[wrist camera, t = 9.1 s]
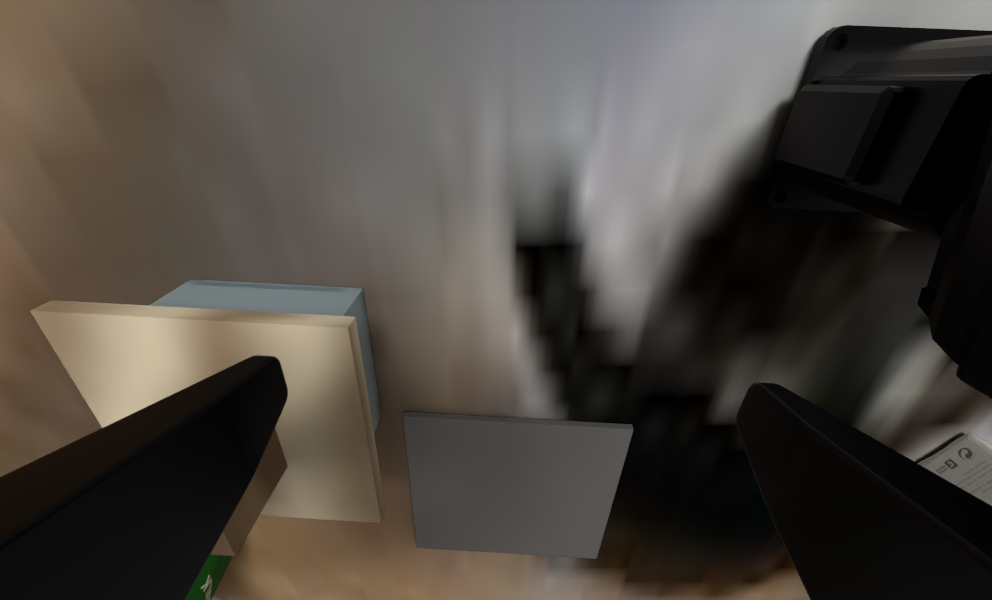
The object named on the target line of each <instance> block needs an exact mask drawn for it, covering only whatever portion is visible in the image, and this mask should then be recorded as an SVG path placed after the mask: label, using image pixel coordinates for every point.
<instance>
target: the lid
mask: <svg viewBox="0 0 992 600" xmlns="http://www.w3.org/2000/svg"><path fill="white" fill-rule="evenodd" d="M30 312H31V313H32V315H33V316H34V318H35V320H36V321H37V323H38V325H39V326H40V328H41V329H42V331H43V333H44V334H45V336H46V337H47V339H48V341H49V342H50V344H51V346H52V347H53V349H54V350H55V352H56V354H57V355H58V357H59V358H60V360H61V362H62V363H63V365H64V367H65V368H66V370H67V371H68V373H69V375H70V376H71V378H72V379H73V381H74V383H75V384H76V386H77V388H78V389H79V391H80V392H81V394H82V396H83V397H84V399H85V400H86V402H87V404H88V405H89V407H90V409H91V410H92V412H93V413H94V415H95V417H96V418H97V420H98V421H99V423H100V425H101V426H102V428H104V427H106V426H108V425H110V424H112V423H114V422H116V421H118V420H120V419H122V418H124V417H126V416H129V415H131V414H133V413H135V412H137V411H139V410H141V409H143V408H145V407H147V406H149V405H151V404H153V403H156V402H158V401H160V400H162V399H164V398H166V397H168V396H170V395H172V394H174V393H176V392H178V391H180V390H183V389H185V388H187V387H189V386H191V385H193V384H195V383H197V382H199V381H201V380H203V379H205V378H208V377H210V376H212V375H214V374H216V373H218V372H220V371H222V370H224V369H226V368H228V367H230V366H232V365H235V364H237V363H239V362H241V361H243V360H245V359H247V358H249V357H251V356H255V355H262V356H274V357H276V358H278V360H279V361H280V363H281V367H282V370H283V374H284V377H285V381H286V384H287V388H288V397H287V401H286V404H285V406H284V408H283V411H282V413H281V415H280V417H279V420H278V422H277V424H276V427H275V429H274V431H273V434H272V436H271V438H270V441H269V443H268V445H267V448H266V450H265V452H264V455H263V457H262V459H261V462H260V464H259V466H258V468H257V470H256V472H255V474H254V476H253V478H252V480H251V482H250V484H249V486H248V488H247V489H246V491H245V493H244V495H243V497H242V498H241V500H240V502H239V504H238V506H237V507H236V509H235V511H234V513H233V515H232V516H231V518H230V520H229V522H228V524H227V525H226V527H225V529H224V531H223V533H222V534H221V536H220V538H219V540H218V541H217V543H216V545H215V547H214V549H213V550H212V552H211V555H227V556H236V554H237V552H238V551H239V549H240V547H241V546H242V544H243V542H244V540H245V539H246V537H247V535H248V534H249V532H250V530H251V529H252V527H253V525H254V523H255V522H256V520H257V518H258V517H259V516H274V517H290V518H306V519H322V520H339V521H355V522H371V523H382V519H383V516H384V513H385V509H386V507H385V501H384V494H383V488H382V482H381V475H380V469H379V463H378V456H377V450H376V444H375V437H374V431H373V425H372V418H371V412H370V405H369V399H368V393H367V386H366V380H365V374H364V367H363V361H362V355H361V348H360V342H359V336H358V329H357V323H356V317H352V316H333V315H314V314H296V313H277V312H258V311H240V310H221V309H202V308H184V307H165V306H146V305H127V304H109V303H90V302H71V301H53V300H52V301H50V302H47V303H45V304H43V305H41V306H39V307H37V308H35V309H33V310H31V311H30Z"/></svg>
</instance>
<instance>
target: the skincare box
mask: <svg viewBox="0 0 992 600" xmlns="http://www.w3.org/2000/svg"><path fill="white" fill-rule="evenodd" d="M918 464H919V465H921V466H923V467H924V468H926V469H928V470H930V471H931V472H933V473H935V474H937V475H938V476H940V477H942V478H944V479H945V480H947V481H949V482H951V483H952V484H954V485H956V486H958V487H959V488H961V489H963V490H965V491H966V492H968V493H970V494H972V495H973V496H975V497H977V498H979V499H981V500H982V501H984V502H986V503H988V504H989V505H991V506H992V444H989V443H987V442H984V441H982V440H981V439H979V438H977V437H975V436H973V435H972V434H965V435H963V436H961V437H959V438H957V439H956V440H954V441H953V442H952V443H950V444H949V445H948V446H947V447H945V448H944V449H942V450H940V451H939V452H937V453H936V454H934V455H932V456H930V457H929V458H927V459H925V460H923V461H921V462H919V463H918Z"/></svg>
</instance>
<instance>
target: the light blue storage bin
mask: <svg viewBox="0 0 992 600" xmlns="http://www.w3.org/2000/svg"><path fill="white" fill-rule="evenodd" d="M149 306H165V307H184V308H202V309H221V310H240V311H258V312H277V313H296V314H314V315H333V316H352V317H356V323H357V329H358V336H359V342H360V348H361V355H362V361H363V367H364V374H365V380H366V386H367V393H368V399H369V405H370V412H371V418H372V425H373V431H374V433H375V430H376V428H377V425H378V423H379V420H380V418H381V411H380V404H379V397H378V390H377V383H376V376H375V369H374V362H373V355H372V348H371V341H370V334H369V327H368V320H367V313H366V305H365V298H364V291H363V288H348V287H328V286H309V285H289V284H270V283H251V282H231V281H212V280H192V279H191V280H189V281H188V282H186V283H184V284H183V285H181V286H180V287H178V288H176V289H175V290H173V291H171V292H170V293H168V294H167V295H165V296H163V297H162V298H160V299H158V300H157V301H155V302H154V303H152V304H150V305H149Z"/></svg>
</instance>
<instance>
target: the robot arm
mask: <svg viewBox="0 0 992 600" xmlns="http://www.w3.org/2000/svg"><path fill="white" fill-rule="evenodd" d="M837 36H839V38H840V44H839V45H838V47H837V48H836V49H835V50H834V49H833V47H832V44H833V41H834V39H835V38H836V37H837ZM775 159H776V161H775V164H774V167H773V170H772V172H771V175H770V178H769V181H768V183H767V186H766V189H765V192H764V195H763V200H764V202H765V203H766V204H767V205H768V206H770V207H773V208H778V209H799V210H821V211H842V212H863V213H868V214H870V215H873V216H876V217H878V218H881V219H884V220H886V221H889V222H892V223H894V224H897V225H900V226H902V227H905V228H908V229H910V230H913V231H916V232H918V233H921V234H924V235H926V236H929V237H931V238H934V239H937V240H939V241H940V244H939V248H938V251H937V254H936V258H935V261H934V264H933V268H932V271H931V274H930V278H929V281H928V284H927V287H924V288H922V289H921V292H920V296H919V299H918V302H917V304H918V306H919V307H920V308H921V309H922V310H923V312H924V313H925V314H926V315H927V316H928V318H929V323H930V329H931V334H932V339H933V340H934V341H935V342H936V343H937V344H938V345H939V346H940V347H941V348H942V350H943V351H944V352H945V353H946V354H947V355H948V356H949V357H950V358H951V359H952V360H953V361H954V362H955V363H956V364H958V365H959V367H958V369H957V372H956V373H957V377H958V378H959V379H960V380H962V381H963V382H964V383H966V384H967V385H969V386H970V387H972V388H974V389H975V390H977V391H979V392H980V393H982V394H984V395H985V396H987V397H989V398H990V399H992V31H978V30H953V29H927V28H901V27H875V26H850V25H846V26H840V27H834V28H832V29H830V30H828V31H827V32H826V33H825V34H824V35H823V36H822V37H821V39H820V41H819V43H818V45H817V48H816V51H815V54H814V56H813V59H812V62H811V65H810V67H809V70H808V73H807V76H806V79H805V81H804V84H803V87H802V89H801V90H800V91H799V92H798V93H797V96H796V99H795V101H794V104H793V107H792V110H791V113H790V115H789V118H788V121H787V124H786V126H785V129H784V132H783V135H782V138H781V140H780V143H779V146H778V149H777V152H776V154H775ZM779 191H782V194H781V196H780V198H778V199H777V200H774V197H775V195H776V194H777V193H778V192H779ZM287 397H288V388H287V384H286V381H285V377H284V374H283V370H282V367H281V363H280V361H279V360H278V358H276V357H274V356H262V355H255V356H251V357H249V358H247V359H245V360H243V361H241V362H239V363H237V364H235V365H232V366H230V367H228V368H226V369H224V370H222V371H220V372H218V373H216V374H214V375H212V376H210V377H208V378H205V379H203V380H201V381H199V382H197V383H195V384H193V385H191V386H189V387H187V388H185V389H183V390H180V391H178V392H176V393H174V394H172V395H170V396H168V397H166V398H164V399H162V400H160V401H158V402H156V403H153V404H151V405H149V406H147V407H145V408H143V409H141V410H139V411H137V412H135V413H133V414H131V415H129V416H126V417H124V418H122V419H120V420H118V421H116V422H114V423H112V424H110V425H108V426H106V427H104V428H101V429H99V430H97V431H95V432H93V433H91V434H89V435H87V436H85V437H83V438H81V439H79V440H77V441H74V442H72V443H70V444H68V445H66V446H64V447H62V448H60V449H58V450H56V451H54V452H52V453H50V454H47V455H45V456H43V457H41V458H39V459H37V460H35V461H33V462H31V463H29V464H27V465H25V466H22V467H20V468H18V469H16V470H14V471H12V472H10V473H8V474H6V475H4V476H2V477H0V600H185V599H186V597H187V595H188V594H189V592H190V590H191V588H192V586H193V585H194V583H195V581H196V579H197V577H198V576H199V574H200V572H201V570H202V568H203V567H204V565H205V563H206V561H207V559H208V558H209V556H210V554H211V552H212V550H213V549H214V547H215V545H216V543H217V541H218V540H219V538H220V536H221V534H222V533H223V531H224V529H225V527H226V525H227V524H228V522H229V520H230V518H231V516H232V515H233V513H234V511H235V509H236V507H237V506H238V504H239V502H240V500H241V498H242V497H243V495H244V493H245V491H246V489H247V488H248V486H249V484H250V482H251V480H252V478H253V476H254V474H255V472H256V470H257V468H258V466H259V464H260V462H261V459H262V457H263V455H264V452H265V450H266V448H267V445H268V443H269V441H270V438H271V436H272V434H273V431H274V429H275V427H276V424H277V422H278V420H279V417H280V415H281V413H282V411H283V408H284V406H285V404H286V401H287ZM736 423H737V428H738V431H739V434H740V436H741V439H742V442H743V445H744V447H745V450H746V453H747V456H748V458H749V461H750V464H751V467H752V469H753V472H754V475H755V478H756V480H757V483H758V486H759V489H760V491H761V494H762V497H763V499H764V502H765V504H766V506H767V509H768V511H769V513H770V515H771V518H772V520H773V522H774V524H775V526H776V528H777V530H778V532H779V534H780V537H781V539H782V541H783V543H784V545H785V547H786V549H787V551H788V553H789V555H790V557H791V560H792V562H793V564H794V566H795V568H796V570H797V572H798V574H799V576H800V578H801V581H802V583H803V585H804V587H805V589H806V591H807V593H808V595H809V597H810V599H811V600H992V506H991V505H989V504H988V503H986V502H984V501H982V500H981V499H979V498H977V497H975V496H973V495H972V494H970V493H968V492H966V491H965V490H963V489H961V488H959V487H958V486H956V485H954V484H952V483H951V482H949V481H947V480H945V479H944V478H942V477H940V476H938V475H937V474H935V473H933V472H931V471H930V470H928V469H926V468H924V467H923V466H921V465H919V464H917V463H916V462H914V461H912V460H910V459H909V458H907V457H905V456H903V455H902V454H900V453H898V452H896V451H895V450H893V449H891V448H889V447H888V446H886V445H884V444H882V443H881V442H879V441H877V440H875V439H873V438H872V437H870V436H868V435H866V434H865V433H863V432H861V431H859V430H858V429H856V428H854V427H852V426H851V425H849V424H847V423H845V422H844V421H842V420H840V419H838V418H837V417H835V416H833V415H831V414H830V413H828V412H826V411H824V410H823V409H821V408H819V407H817V406H816V405H814V404H812V403H810V402H809V401H807V400H805V399H803V398H802V397H800V396H798V395H796V394H795V393H793V392H791V391H789V390H788V389H786V388H784V387H782V386H780V385H778V384H773V383H754V384H752V385H751V386H750V387H749V389H748V391H747V393H746V395H745V397H744V400H743V402H742V404H741V406H740V408H739V411H738V413H737V418H736Z"/></svg>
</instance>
